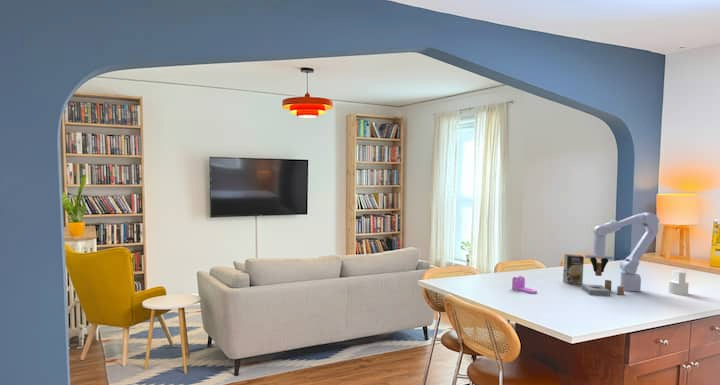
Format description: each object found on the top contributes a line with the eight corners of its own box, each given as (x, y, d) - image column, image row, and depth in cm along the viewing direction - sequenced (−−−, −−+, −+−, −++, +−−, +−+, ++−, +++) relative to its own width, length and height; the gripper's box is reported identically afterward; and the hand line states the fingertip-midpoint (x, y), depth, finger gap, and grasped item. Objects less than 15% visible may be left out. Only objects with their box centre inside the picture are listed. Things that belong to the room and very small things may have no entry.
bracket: (512, 289, 262) (512, 276, 261) (518, 288, 265) (519, 275, 264) (532, 294, 251) (532, 281, 251) (539, 293, 254) (539, 280, 254)
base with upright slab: (691, 295, 257) (692, 273, 257) (672, 294, 259) (673, 272, 259) (683, 291, 266) (684, 270, 266) (665, 290, 268) (666, 269, 268)
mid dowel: (609, 290, 265) (610, 280, 265) (612, 291, 262) (612, 281, 262) (603, 289, 266) (604, 279, 266) (605, 291, 263) (606, 281, 262)
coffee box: (566, 283, 279) (567, 255, 279) (562, 281, 286) (563, 254, 285) (582, 284, 278) (584, 256, 278) (579, 282, 285) (580, 254, 284)
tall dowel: (600, 274, 272) (601, 262, 272) (602, 276, 269) (602, 263, 269) (594, 274, 273) (594, 262, 273) (596, 275, 270) (596, 263, 270)
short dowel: (622, 293, 258) (622, 286, 257) (624, 295, 254) (625, 287, 254) (616, 293, 258) (616, 285, 258) (618, 294, 255) (618, 287, 255)
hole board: (601, 289, 265) (601, 285, 265) (610, 295, 252) (610, 291, 251) (581, 288, 267) (582, 284, 267) (589, 294, 253) (589, 289, 253)
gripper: (611, 247, 273) (610, 271, 274) (583, 245, 276) (582, 269, 276) (615, 248, 266) (614, 273, 267) (587, 247, 269) (586, 271, 269)
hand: (598, 271), depth 271 cm, fingers closed on tall dowel, 3 cm apart
